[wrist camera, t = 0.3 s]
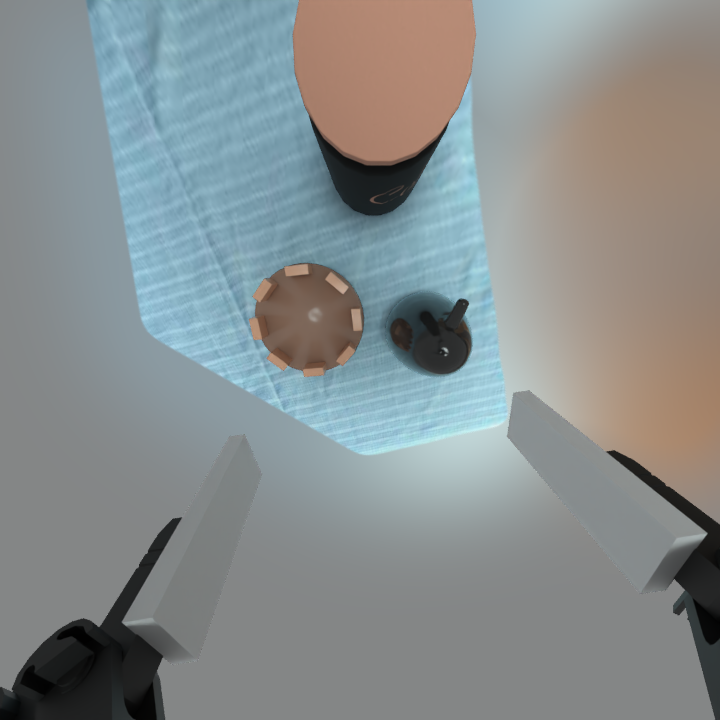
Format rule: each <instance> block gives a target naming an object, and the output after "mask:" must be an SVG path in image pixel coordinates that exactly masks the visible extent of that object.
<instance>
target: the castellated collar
mask: <svg viewBox="0 0 720 720" xmlns="http://www.w3.org/2000/svg"><path fill="white" fill-rule="evenodd" d="M252 297H253V298H255V299H256V300H257V302H256V309H255V317H252V318H250V319H249V322H250V326H251V330H252V335H253V339H254V340H259V339H261V340H262V341H263V343H264V345H265V346H266V347H267V349H268V350H269V351H270V352H271V353H270V354H269V356H268V357H267V358H266V359H268V360H269V361H271V362H272V363H273V364H275V365H276V366H277V367H279V368H280V369H282V370H283V371H284V370H285V369H286V367H287V366H290V367H292V368H295V369H298V370H302V371H303V373H304V377H309V376H321V375H324V374H325V372H326V370H328V369H331V368H334V367H336V366H338V365H342V366H343V365H344V364H345V363H346V362H347V360H348V359H349V358H350V357H351V356H352V355H353V354H354V352H355V351H356V348H357V346H358V344H359V342H360V339H361V337H362V332H363V326H364V315H363V308H362V305H361V302H360V299H359V297H358V295H357V293H356V291H355V290H354V288H353V287H352V286H351V284H350V283H349V282H348V281H347V280H346V279H345V278H344V277H343V276H341V275H340V274H339V273H337V272H336V271H334V270H332V269H330V268H327V267H325V266H322V265H318V264H310V263H300V264H294V265H290V266H285V267H284V268H283V269H281V270H279V271H278V272H276V273H275V274H273V275H272V276H271V277H270V278H265V279H264V280H263V281H262V283H261V284H260V286H259V287H258V289H257V290H256V292H255V293H254V295H253V296H252Z"/></svg>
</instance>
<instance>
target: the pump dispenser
mask: <svg viewBox="0 0 720 720" xmlns="http://www.w3.org/2000/svg"><path fill="white" fill-rule="evenodd" d="M468 305H469V302H468V301H467V300H466V299H462V298H461V299H458V300H457V302H456V304H455V303H454V302H453V301H452V300H451V299H449V298H448V297H446V296H444V295H442V294H439V293H435V292H428V291H424V292H417V293H414V294H411V295H409V296H407V297H405V298H403V299H402V300H401V301H400V302H398V303H397V304H396V305H395V307H394V308H393V309H392V311H391V312H390V314H389V317H388V319H387V323H386V339H387V343H388V346H389V348H390V350H391V351H392V353H393V354H394V356H395V357H396V358H397V359H398V360H399V361H400V362H401V363H402V364H403V365H404V366H405V367H407V368H408V369H410V370H412V371H413V372H416V373H418V374H421V375H424V376H429V377H445V376H449V375H452V374H454V373H456V372H458V371H459V370H460V369H462V368H463V367H464V366H465V364H466V363H467V362H468V360H469V358H470V355H471V352H472V347H473V338H472V332H471V328H470V325H469V322H468V320H467V318H466V316H465V312H466V310H467V308H468Z"/></svg>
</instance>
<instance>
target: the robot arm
mask: <svg viewBox="0 0 720 720" xmlns="http://www.w3.org/2000/svg"><path fill="white" fill-rule="evenodd" d="M507 437H508V438H509V439H510V440H511V442H512V443H513V444H514V445H515V446H516V448H517V449H518V450H519V451H520V452H521V454H522V455H523V456H524V457H525V458H526V459H527V461H528V462H529V463H530V464H531V465H532V466H533V468H534V469H535V470H536V471H537V473H538V474H539V475H540V476H541V477H542V478H543V479H544V481H545V482H546V483H547V484H548V486H549V487H550V488H551V489H552V490H553V491H554V493H555V494H556V495H557V496H558V497H559V499H560V500H561V501H562V502H563V503H564V505H566V507H567V508H568V509H569V511H570V512H571V513H572V514H573V515H574V516H575V518H576V519H577V520H578V521H579V522H580V523H581V525H582V526H583V527H584V528H585V529H586V531H587V532H588V533H589V534H590V535H591V537H592V538H593V539H594V540H595V541H596V542H597V544H598V545H599V546H600V547H601V548H602V550H603V551H604V552H605V553H606V554H607V556H608V557H609V558H610V559H611V560H612V561H613V563H614V564H615V565H616V566H617V567H618V569H619V570H620V571H621V572H622V573H623V575H624V576H625V577H626V578H627V579H628V580H629V582H630V583H631V584H632V585H633V586H634V587H635V589H636V590H637V591H638V592H639V594H643V593H650V592H657V591H663V590H666V589H667V588H668V587H669V585H670V584H671V583H672V581H673V580H674V579H675V580H676V581H677V582H678V583H679V584H680V585H681V586H682V587H683V588H684V589H685V591H684V592H683V594H682V595H681V596H680V598H679V599H678V600H677V601H676V603H675V604H674V605H673V613H675V614H677V615H680V613H681V612H682V611H683V610H684V609H685V608H686V611H687V614H688V620H689V622H690V626H691V629H692V633H693V637H694V641H695V644H696V648H697V652H698V656H699V660H700V663H701V667H702V671H703V674H704V678H705V682H706V686H707V690H708V694H709V697H710V701H711V705H712V709H713V712H714V716H715V720H720V524H718V523H717V522H716V521H714V520H713V519H712V518H710V517H709V516H707V515H706V514H705V513H704V512H702V511H701V510H700V509H698V508H697V507H696V506H694V505H693V504H692V503H690V502H689V501H688V500H686V499H685V498H684V497H682V496H681V495H679V494H678V493H677V492H675V491H674V490H673V489H671V488H670V487H667V486H666V485H665V483H664V482H662V481H661V480H660V479H658V478H657V477H656V476H652V475H651V473H650V472H649V471H648V470H646V469H645V468H644V467H642V466H641V465H640V464H638V463H637V462H636V461H634V460H632V459H631V458H628V457H627V456H625V455H623V454H620V453H618V452H616V451H615V450H613V451H607V452H605V451H604V450H603V449H602V448H600V447H599V446H598V445H596V444H595V443H594V442H593V441H591V440H590V439H589V438H588V437H587V436H585V435H584V434H583V433H582V432H580V431H579V430H578V429H577V428H575V427H574V426H573V425H571V424H570V423H569V422H568V421H567V420H565V419H564V418H563V417H562V416H560V415H559V414H558V413H557V412H555V411H554V410H553V409H552V408H550V407H549V406H548V405H546V404H545V403H544V402H543V401H542V400H540V399H539V398H538V397H536V396H535V395H534V394H533V393H532V392H530V391H522V392H516V393H513V399H512V406H511V413H510V420H509V427H508V435H507ZM261 476H262V473H261V471H260V468H259V466H258V464H257V461H256V459H255V457H254V454H253V452H252V450H251V448H250V445H249V443H248V441H247V439H246V436H245V434H244V435H237V436H231V437H229V438H228V440H227V441H226V443H225V445H224V446H223V448H222V450H221V452H220V453H219V455H218V457H217V459H216V460H215V462H214V464H213V465H212V467H211V469H210V471H209V472H208V474H207V476H206V478H205V479H204V481H203V483H202V484H201V486H200V488H199V490H198V491H197V493H196V495H195V496H194V498H193V500H192V502H191V504H190V505H189V507H188V509H187V510H186V512H185V514H184V516H183V517H181V518H175V519H172V520H171V521H170V522H169V523H168V524H167V525H166V526H165V528H164V529H163V530H162V531H161V532H160V533H159V534H158V535H157V537H156V539H155V540H154V542H153V543H152V545H151V546H150V548H149V550H148V553H147V554H145V556H144V558H143V559H142V561H141V562H140V564H139V568H137V569H136V570H135V572H134V574H133V575H132V577H131V578H130V580H129V581H128V583H127V585H126V586H125V588H124V589H123V591H122V593H121V594H120V596H119V598H118V599H117V601H116V602H115V604H114V605H113V607H112V609H111V610H110V612H109V613H108V615H107V616H106V618H105V620H104V621H103V623H102V625H101V626H100V627H98V626H97V625H95V624H94V623H93V622H91V621H90V620H87V619H84V618H83V619H80V620H76V621H72V622H71V623H69V624H67V625H66V626H64V627H62V628H61V629H59V630H58V631H56V632H55V633H54V634H53V635H52V636H50V638H48V639H47V640H46V641H45V642H43V643H42V644H41V646H40V647H39V648H38V649H37V650H36V651H35V652H34V653H33V654H32V656H31V657H30V658H29V659H28V660H27V662H26V663H25V665H24V666H23V668H22V669H21V671H20V672H19V674H18V675H17V678H16V680H15V683H14V685H13V687H12V690H13V692H11V691H9V690H7V689H4V688H2V687H0V720H165V715H164V707H163V699H162V692H161V685H160V678H159V676H158V674H157V669H158V667H159V665H160V662H161V660H162V658H165V659H166V660H167V661H168V662H169V663H170V664H172V665H174V664H181V663H188V662H194V661H198V659H199V656H200V653H201V650H202V647H203V644H204V641H205V638H206V636H207V633H208V629H209V627H210V624H211V621H212V618H213V615H214V612H215V609H216V606H217V604H218V601H219V598H220V595H221V592H222V589H223V586H224V583H225V580H226V577H227V575H228V572H229V569H230V566H231V563H232V560H233V557H234V554H235V551H236V548H237V546H238V543H239V540H240V537H241V534H242V531H243V528H244V525H245V522H246V519H247V517H248V513H249V511H250V508H251V505H252V502H253V499H254V496H255V493H256V490H257V488H258V484H259V481H260V479H261Z"/></svg>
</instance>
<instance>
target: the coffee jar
mask: <svg viewBox="0 0 720 720" xmlns="http://www.w3.org/2000/svg"><path fill="white" fill-rule="evenodd" d="M475 38H476V31H475V22H474V13H473V5H472V0H299V4H298V9H297V14H296V20H295V25H294V31H293V49H294V68H295V76H296V79H297V82H298V86H299V89H300V92H301V96H302V99H303V103H304V106H305V108H306V110H307V112H308V114H309V117H310V121H311V124H312V127H313V130H314V133H315V136H316V138H317V141H318V144H319V146H320V149H321V151H322V154H323V157H324V159H325V162H326V165H327V167H328V170H329V172H330V175H331V178H332V180H333V183H334V185H335V188H336V190H337V191H338V193H339V195H340V196H341V198H342V199H343V201H344V202H345V203H346V204H348V205H349V206H350V207H351V208H352V209H354V210H355V211H358V212H360V213H363V214H366V215H382V214H385V213H387V212H390V211H393V210H394V209H395V208H397V207H398V206H399V205H401V204H402V203H403V202H404V201H405V200H406V198H407V197H408V196H409V194H410V193H411V191H412V190H413V188H414V186H415V185H416V183H417V181H418V179H419V178H420V176H421V174H422V172H423V170H424V169H425V167H426V165H427V163H428V161H429V160H430V158H431V156H432V154H433V153H434V151H435V149H436V147H437V145H438V144H439V142H440V140H441V138H442V137H443V135H444V133H445V131H446V129H447V126H448V124H449V121H450V119H451V118H452V116H453V115H454V113H455V112H456V110H457V109H458V108H459V105H460V102H461V99H462V97H463V94H464V91H465V89H466V86H467V83H468V81H469V78H470V75H471V70H472V62H473V54H474V45H475Z"/></svg>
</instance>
